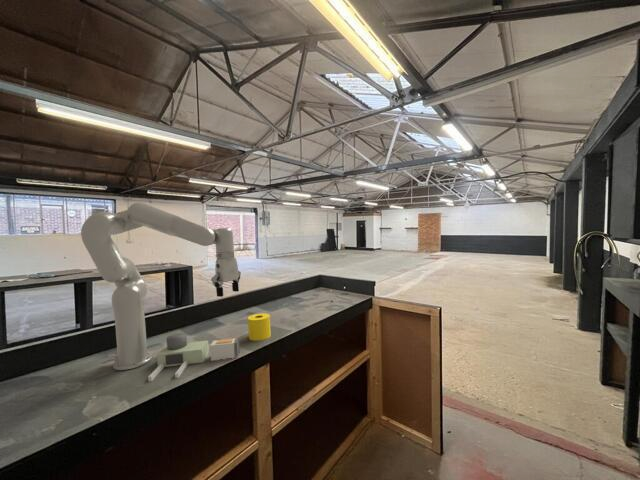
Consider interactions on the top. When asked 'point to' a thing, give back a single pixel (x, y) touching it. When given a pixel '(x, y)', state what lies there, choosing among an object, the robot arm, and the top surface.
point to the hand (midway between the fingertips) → (228, 293)
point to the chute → (224, 349)
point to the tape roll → (259, 327)
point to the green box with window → (180, 354)
